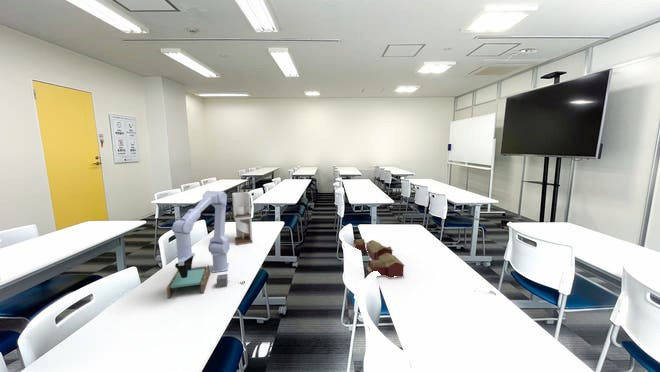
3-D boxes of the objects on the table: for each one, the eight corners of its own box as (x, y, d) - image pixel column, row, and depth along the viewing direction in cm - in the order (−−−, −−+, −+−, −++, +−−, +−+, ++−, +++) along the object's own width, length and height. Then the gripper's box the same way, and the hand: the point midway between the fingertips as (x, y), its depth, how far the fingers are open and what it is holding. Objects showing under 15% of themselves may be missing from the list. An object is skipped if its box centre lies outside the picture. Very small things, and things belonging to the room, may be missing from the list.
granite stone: (218, 283, 130) (217, 275, 129) (227, 282, 131) (227, 273, 131) (217, 288, 126) (216, 279, 125) (227, 286, 127) (226, 278, 126)
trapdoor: (181, 273, 134) (180, 268, 134) (206, 270, 137) (206, 265, 137) (170, 291, 117) (170, 286, 117) (200, 287, 121) (199, 282, 120)
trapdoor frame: (179, 277, 136) (178, 268, 135) (210, 274, 140) (209, 265, 139) (167, 298, 117) (166, 288, 116) (203, 293, 121) (202, 283, 120)
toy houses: (408, 276, 137) (408, 258, 136) (370, 280, 133) (371, 261, 132) (377, 245, 181) (377, 231, 179) (348, 247, 177) (348, 233, 176)
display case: (234, 240, 191) (232, 192, 185) (250, 237, 195) (247, 191, 190) (236, 245, 180) (233, 195, 175) (252, 242, 185) (250, 194, 180)
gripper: (190, 250, 114) (192, 280, 116) (196, 239, 128) (199, 265, 130) (171, 252, 112) (174, 282, 114) (180, 241, 126) (183, 267, 128)
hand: (186, 273), depth 122 cm, fingers open, 7 cm apart
